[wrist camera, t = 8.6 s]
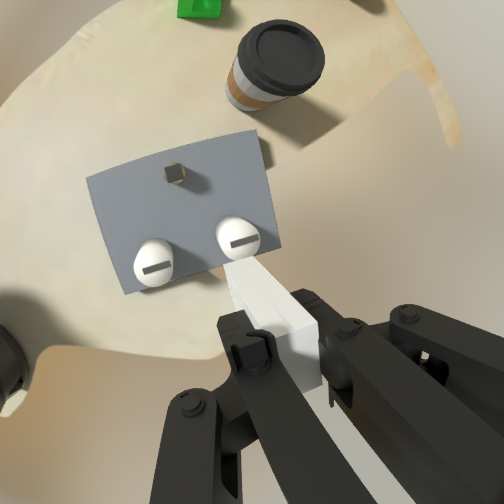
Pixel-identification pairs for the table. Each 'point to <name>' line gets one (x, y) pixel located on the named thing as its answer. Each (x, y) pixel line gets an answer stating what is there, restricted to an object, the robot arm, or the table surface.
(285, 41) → the coffee cup
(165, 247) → the knob
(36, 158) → the table surface
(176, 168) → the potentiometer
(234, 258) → the knob
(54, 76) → the table surface
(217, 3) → the mechanical part
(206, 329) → the table surface
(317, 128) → the table surface
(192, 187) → the plate
